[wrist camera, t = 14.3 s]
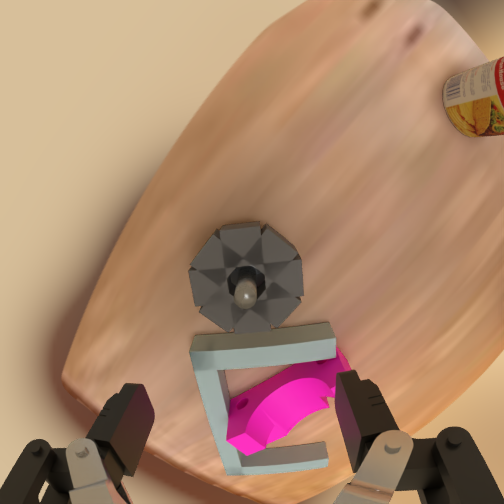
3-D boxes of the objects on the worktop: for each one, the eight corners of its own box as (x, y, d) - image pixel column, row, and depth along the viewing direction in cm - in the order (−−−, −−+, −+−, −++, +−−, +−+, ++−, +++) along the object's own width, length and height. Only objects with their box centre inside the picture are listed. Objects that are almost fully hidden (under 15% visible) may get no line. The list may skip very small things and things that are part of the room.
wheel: (294, 217, 25) (298, 222, 23) (301, 314, 27) (305, 327, 25) (189, 229, 25) (182, 235, 23) (205, 323, 28) (201, 336, 25)
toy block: (259, 423, 36) (259, 464, 29) (230, 398, 35) (225, 440, 28) (355, 370, 34) (372, 409, 27) (331, 339, 33) (348, 378, 25)
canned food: (484, 146, 26) (554, 146, 15) (439, 122, 26) (511, 108, 14) (487, 92, 24) (550, 79, 13) (443, 65, 24) (506, 37, 12)
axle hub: (268, 237, 30) (273, 265, 20) (272, 279, 31) (278, 322, 21) (223, 242, 30) (209, 272, 21) (229, 283, 31) (219, 328, 22)
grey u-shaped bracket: (328, 322, 32) (336, 337, 28) (324, 450, 38) (327, 466, 34) (195, 335, 32) (189, 351, 29) (228, 458, 38) (227, 475, 35)
